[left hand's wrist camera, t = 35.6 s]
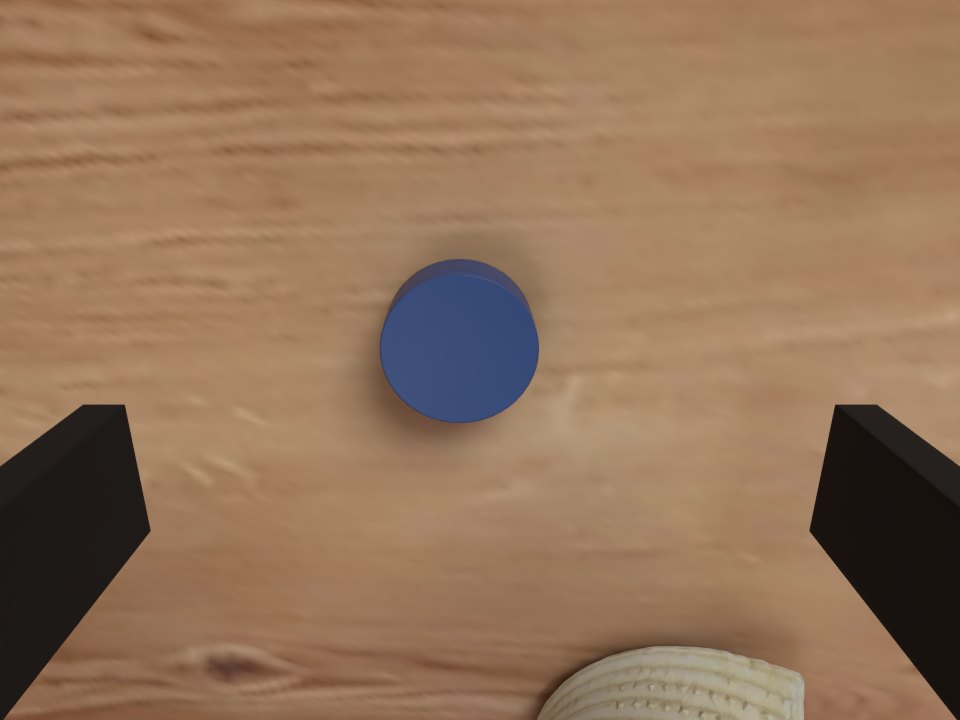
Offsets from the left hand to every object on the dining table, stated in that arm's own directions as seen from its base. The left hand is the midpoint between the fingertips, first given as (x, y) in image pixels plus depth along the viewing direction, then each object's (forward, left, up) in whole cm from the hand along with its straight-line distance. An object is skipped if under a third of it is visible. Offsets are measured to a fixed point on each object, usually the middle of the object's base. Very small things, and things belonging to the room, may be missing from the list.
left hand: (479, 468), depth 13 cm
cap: (0, 0, -6) cm, 6 cm away
